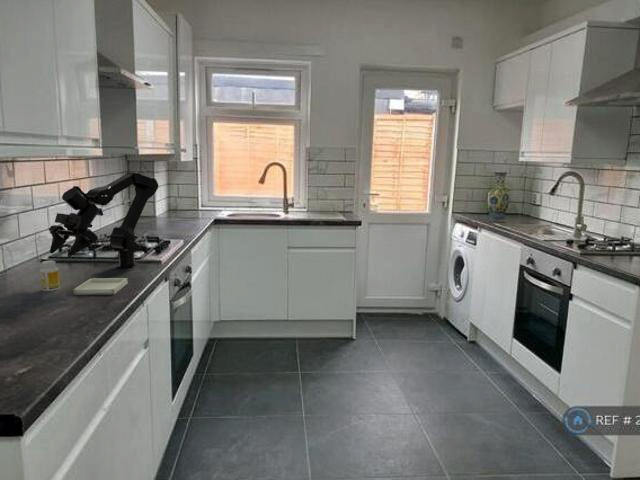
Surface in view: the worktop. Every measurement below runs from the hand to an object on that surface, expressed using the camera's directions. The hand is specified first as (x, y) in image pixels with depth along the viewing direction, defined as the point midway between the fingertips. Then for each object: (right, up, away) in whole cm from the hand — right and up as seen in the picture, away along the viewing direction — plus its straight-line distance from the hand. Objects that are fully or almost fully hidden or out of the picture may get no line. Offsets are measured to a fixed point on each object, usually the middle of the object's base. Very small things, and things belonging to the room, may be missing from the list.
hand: (59, 254), depth 166 cm
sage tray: (+15, -12, -1) cm, 19 cm away
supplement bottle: (-2, -12, -2) cm, 12 cm away
